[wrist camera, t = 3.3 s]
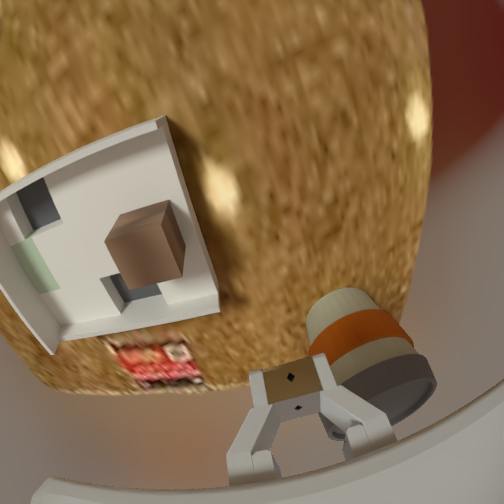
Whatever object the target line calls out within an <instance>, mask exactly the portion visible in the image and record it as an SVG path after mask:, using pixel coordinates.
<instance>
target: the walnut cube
mask: <svg viewBox="0 0 504 504" xmlns="http://www.w3.org/2000/svg"><path fill="white" fill-rule="evenodd" d="M104 242H105V245H106V247H107V249H108V251H109V253H110V255H111V257H112V259H113V261H114V263H115V264H116V266H117V268H118V270H119V272H120V274H121V276H122V278H123V280H124V281H125V283H126V285H127V287H128V289H129V290H132V289H136V288H140V287H144V286H148V285H153V284H157V283H161V282H165V281H169V280H173V279H178V278H182V276H183V267H184V258H185V250H186V245H185V242H184V240H183V237H182V234H181V231H180V229H179V226H178V223H177V220H176V218H175V215H174V212H173V209H172V206H171V204H170V201H169V200H165V201H162V202H158V203H155V204H152V205H149V206H145V207H142V208H139V209H136V210H133V211H129V212H126V213H123V214H120V215H119V217H118V219H117V220H116V222H115V224H114V225H113V227H112V229H111V230H110V232H109V234H108V235H107V237H106V239H105V241H104Z"/></svg>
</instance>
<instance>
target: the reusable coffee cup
mask: <svg viewBox="0 0 504 504" xmlns="http://www.w3.org/2000/svg"><path fill="white" fill-rule="evenodd" d="M306 327H307V332H308V338H309V343H310V350H309V356H314V355H317V354H320V353H324V354H325V355H326V358H327V360H328V363H329V365H330V368H331V370H332V373H333V375H334V378H335V381H336V383H337V386H339V385H342V386H344V387H345V388H347V389H348V390H350V391H351V392H353V393H354V394H356V395H357V396H359V397H360V398H362V399H363V400H365V401H367V402H368V403H370V404H371V405H373V406H375V407H376V408H378V409H379V410H381V411H383V412H384V413H386V416H387V418H388V420H389V422H390V425H391V426H393V425H395V424H397V423H398V422H400V421H402V420H403V419H405V418H406V417H408V416H409V415H411V414H412V413H414V412H415V411H416V410H417V409H419V408H420V407H421V406H422V405H423V404H424V403H425V402H426V401H427V400H428V399H429V398H430V397H431V395H432V394H433V392H434V391H435V389H436V385H437V382H436V380H435V377H434V375H433V373H432V370H431V368H430V366H429V363H428V361H427V359H426V358H425V357H424V356H422V355H419V354H418V353H417V352H416V350H415V349H414V345H413V341H412V340H411V338H410V337H409V336H408V335H407V334H406V332H405V331H404V330H403V329H402V328H401V327H400V325H399V324H398V323H397V322H396V321H395V320H394V319H393V317H392V316H391V315H390V314H388V313H387V312H386V311H383V310H381V309H380V308H379V307H378V306H377V305H376V304H375V302H374V301H373V300H372V299H371V298H370V297H369V296H368V295H367V293H366V292H364V291H363V290H361V289H358V288H352V287H350V288H342V289H338V290H335V291H332V292H330V293H328V294H327V295H325V296H323V297H322V298H321V299H319V300H318V301H317V302H316V303H315V304H314V305H313V306H312V308H311V309H310V311H309V313H308V315H307V318H306ZM318 413H319V416H320V418H321V421H322V423H323V425H324V427H325V430H326V432H327V434H328V436H329V438H331V439H332V440H336V441H344V440H345V435H346V433H345V432H344V431H342V430H341V429H340V428H339V427H338V426H336V425H335V424H334V423H333V422H331V421H330V420H329V419H328V418H327V417H325V416H324V415H323V414H322V413H321V412H318Z"/></svg>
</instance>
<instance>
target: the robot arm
mask: <svg viewBox="0 0 504 504" xmlns="http://www.w3.org/2000/svg"><path fill="white" fill-rule="evenodd" d="M249 379H250V385H251V391H252V397H253V403H254V408H251V409H250V411H249V413H248V415H247V417H246V419H245V421H244V423H243V425H242V427H241V428H240V431H239V432H238V434H237V436H236V438H235V440H234V442H233V444H232V446H231V447H230V449H229V451H228V453H227V455H226V458H227V467H228V476H229V485H230V486H226V487H216V488H201V489H172V490H171V489H139V488H125V487H115V486H106V485H99V484H91V483H86V482H80V481H74V480H69V479H65V478H60V477H50V478H48V479H47V480H46V481H45V482H44V483H43V484H42V485H41V486H40V487H39V489H38V490H37V491H36V492H35V494H34V495H33V497H32V500H31V503H30V504H504V379H503V380H501V381H500V382H499V383H497V384H496V385H495V386H493V387H492V388H490V389H489V390H488V391H486V392H485V393H483V394H482V395H480V396H479V397H477V398H476V399H474V400H473V401H472V402H470V403H468V404H467V405H465V406H463V407H462V408H460V409H458V410H457V411H455V412H454V413H452V414H450V415H448V416H446V417H445V418H443V419H441V420H439V421H438V422H436V423H434V424H432V425H430V426H428V427H426V428H424V429H422V430H420V431H418V432H416V433H414V434H412V435H410V436H408V437H406V438H403V439H401V440H399V441H397V439H396V437H395V434H394V432H393V430H392V427H391V425H390V422H389V420H388V418H387V416H386V413H384V412H383V411H381V410H379V409H378V408H376V407H375V406H373V405H371V404H370V403H368V402H367V401H365V400H363V399H362V398H360V397H359V396H357V395H356V394H354V393H353V392H351V391H350V390H348V389H347V388H345V387H344V386H342V385H339V386H337V383H336V381H335V378H334V375H333V373H332V370H331V368H330V365H329V363H328V360H327V358H326V355H325V354H324V353H320V354H317V355H314V356H309V357H306V358H303V359H299V360H296V361H292V362H288V363H286V364H282V365H278V366H273V367H269V368H265V369H260V370H255V371H251V372H249ZM317 412H321V413H322V414H323V415H324V416H325V417H327V418H328V419H329V420H330V421H331V422H333V423H334V424H335V425H336V426H338V427H339V428H340V429H341V430H342V431H344V432H345V433H346V435H345V440H344V444H343V449H342V451H343V454H344V457H345V460H346V461H344V462H341V463H338V464H335V465H331V466H328V467H325V468H321V469H317V470H314V471H310V472H306V473H302V474H298V475H293V476H289V477H285V478H282V476H281V471H280V467H279V465H278V464H277V462H276V460H275V458H274V457H273V455H272V453H271V452H270V451H269V450H270V448H271V445H272V443H273V440H274V438H275V435H276V433H277V430H278V427H279V425H280V422H283V421H287V420H291V419H294V418H298V417H302V416H306V415H310V414H314V413H317Z"/></svg>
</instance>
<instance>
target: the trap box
mask: <svg viewBox="0 0 504 504" xmlns="http://www.w3.org/2000/svg"><path fill="white" fill-rule="evenodd" d="M165 200H169V201H170V204H171V206H172V209H173V212H174V215H175V218H176V220H177V223H178V226H179V229H180V231H181V234H182V237H183V240H184V242H185V245H186V250H185V258H184V267H183V276H182V278H178V279H173V280H169V281H165V282H161V283H157V284H153V285H148V286H144V287H140V288H136V289H132V290H129V289H128V287H127V285H126V283H125V281H124V280H123V278H122V276H121V274H120V272H119V270H118V268H117V266H116V264H115V263H114V261H113V259H112V257H111V255H110V253H109V251H108V249H107V247H106V245H105V242H104V241H105V239H106V237H107V235H108V234H109V232H110V230H111V229H112V227H113V225H114V224H115V222H116V220H117V219H118V217H119V215H120V214H123V213H126V212H129V211H133V210H136V209H139V208H142V207H145V206H149V205H152V204H155V203H158V202H162V201H165ZM0 289H1V290H2V292H3V294H4V295H5V297H6V298H7V299H8V301H9V302H10V304H11V305H12V307H13V308H14V309H15V311H16V312H17V314H18V315H19V316H20V318H21V319H22V320H23V322H24V323H25V324H26V326H27V327H28V328H29V329H30V331H31V332H32V333H33V334H34V336H35V337H36V338H37V339H38V341H39V342H40V343H41V344H42V345H43V346H44V348H45V349H46V350H47V351H48V352H49V353H50V355H54V354H55V351H56V349H57V346H58V344H59V342H60V341H67V340H73V339H80V338H86V337H93V336H99V335H105V334H111V333H117V332H122V331H128V330H133V329H139V328H144V327H149V326H154V325H160V324H165V323H170V322H175V321H179V320H184V319H189V318H194V317H198V316H203V315H208V314H212V313H217V312H220V297H219V282H218V279H217V276H216V274H215V271H214V268H213V265H212V262H211V259H210V256H209V253H208V250H207V247H206V244H205V242H204V239H203V236H202V233H201V230H200V227H199V224H198V220H197V217H196V214H195V211H194V208H193V205H192V202H191V199H190V196H189V193H188V189H187V186H186V183H185V180H184V177H183V173H182V170H181V167H180V164H179V160H178V157H177V154H176V150H175V147H174V143H173V140H172V137H171V133H170V130H169V126H168V123H167V119H166V116H165V115H164V116H161V117H158V118H155V119H152V120H149V121H146V122H143V123H140V124H138V125H135V126H132V127H129V128H127V129H124V130H121V131H119V132H116V133H114V134H111V135H109V136H106V137H104V138H102V139H99V140H97V141H95V142H92V143H90V144H88V145H85V146H83V147H81V148H79V149H77V150H75V151H72V152H70V153H68V154H66V155H64V156H62V157H60V158H58V159H56V160H54V161H52V162H50V163H48V164H46V165H44V166H43V167H41V168H39V169H37V170H35V171H33V172H32V173H30V174H28V175H26V176H25V177H23V178H21V179H19V180H18V181H16V182H14V183H13V184H11V185H9V186H8V187H6V188H5V189H3V190H1V191H0Z"/></svg>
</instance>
